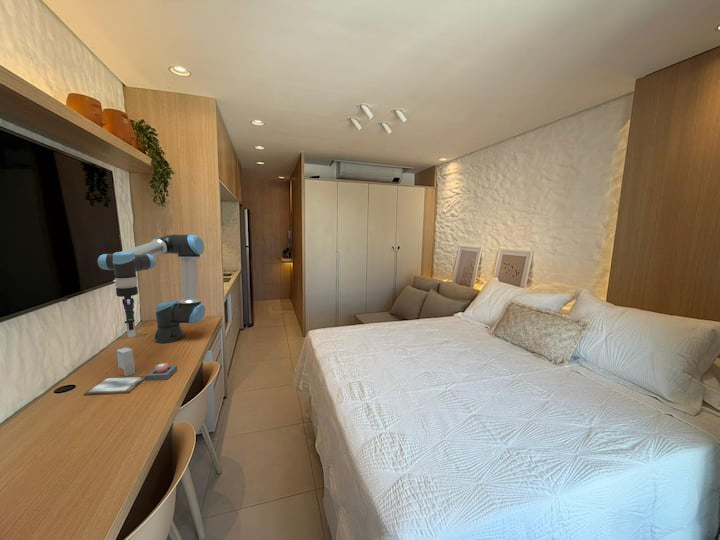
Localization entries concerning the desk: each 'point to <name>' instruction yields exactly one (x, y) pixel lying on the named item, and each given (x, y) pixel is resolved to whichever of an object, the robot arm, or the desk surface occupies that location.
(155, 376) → the button base
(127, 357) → the skincare box
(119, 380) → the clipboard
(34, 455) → the desk surface
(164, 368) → the button
